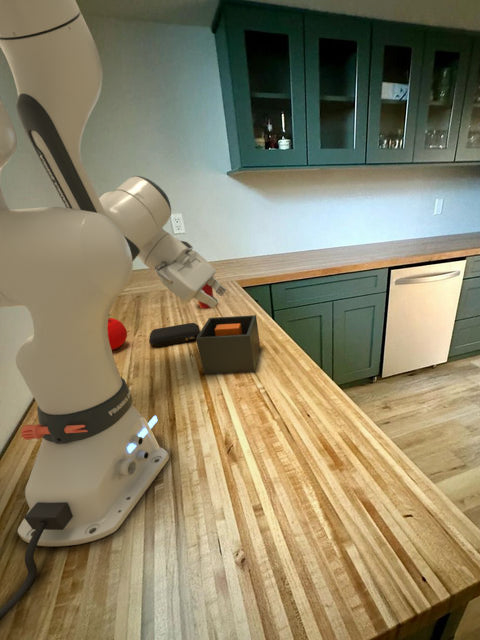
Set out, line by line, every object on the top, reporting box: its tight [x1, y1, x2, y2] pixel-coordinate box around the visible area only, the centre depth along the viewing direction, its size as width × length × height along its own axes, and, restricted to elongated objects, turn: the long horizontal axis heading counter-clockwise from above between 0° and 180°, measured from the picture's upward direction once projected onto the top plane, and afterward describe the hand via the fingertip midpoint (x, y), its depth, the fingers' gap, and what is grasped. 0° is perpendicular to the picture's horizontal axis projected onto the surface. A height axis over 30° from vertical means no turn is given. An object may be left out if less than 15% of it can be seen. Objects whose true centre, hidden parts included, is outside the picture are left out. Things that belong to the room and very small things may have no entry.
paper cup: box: [197, 284, 214, 310], centre depth 126 cm, size 8×8×14 cm
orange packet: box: [215, 323, 242, 336], centre depth 86 cm, size 3×6×9 cm, turn 90°
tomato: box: [108, 314, 128, 351], centre depth 97 cm, size 10×10×10 cm
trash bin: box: [195, 314, 261, 375], centre depth 86 cm, size 14×13×10 cm
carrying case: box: [148, 322, 201, 347], centre depth 102 cm, size 11×3×15 cm
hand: (220, 298), depth 80 cm, fingers open, 8 cm apart
